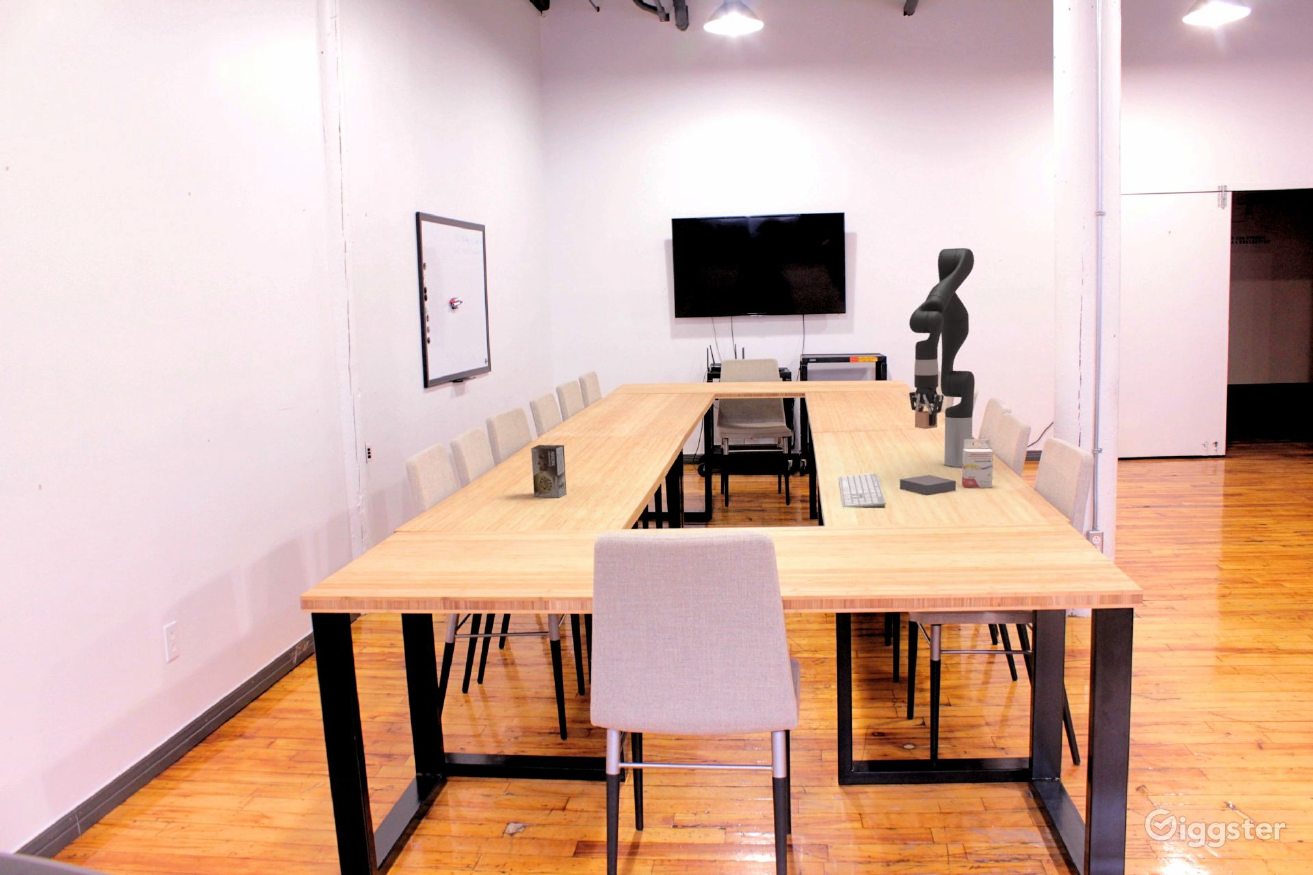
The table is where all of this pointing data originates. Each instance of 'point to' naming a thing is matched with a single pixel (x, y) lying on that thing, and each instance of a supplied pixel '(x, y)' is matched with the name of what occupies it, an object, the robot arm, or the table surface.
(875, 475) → the keyboard
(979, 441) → the ink cartridge box
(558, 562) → the table surface
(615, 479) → the table surface
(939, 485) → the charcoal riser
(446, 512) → the table surface
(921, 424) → the terracotta cube
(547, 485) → the coffee box
